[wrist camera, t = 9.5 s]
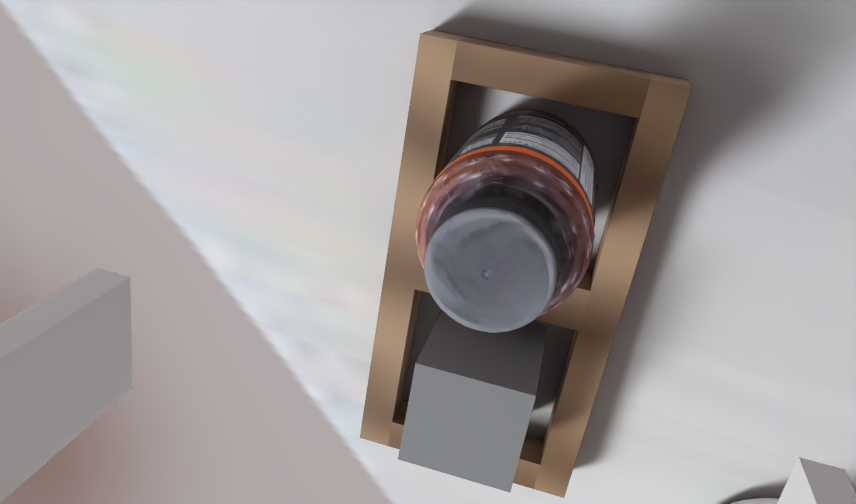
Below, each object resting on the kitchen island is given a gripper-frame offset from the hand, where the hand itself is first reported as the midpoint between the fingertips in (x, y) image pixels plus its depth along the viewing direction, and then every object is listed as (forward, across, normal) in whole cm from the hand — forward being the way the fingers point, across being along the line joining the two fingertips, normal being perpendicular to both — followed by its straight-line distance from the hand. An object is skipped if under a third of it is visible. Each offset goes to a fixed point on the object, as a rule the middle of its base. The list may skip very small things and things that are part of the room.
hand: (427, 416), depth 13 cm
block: (+19, 0, +10) cm, 21 cm away
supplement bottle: (+19, 0, 0) cm, 19 cm away
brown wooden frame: (+19, 0, +5) cm, 19 cm away
